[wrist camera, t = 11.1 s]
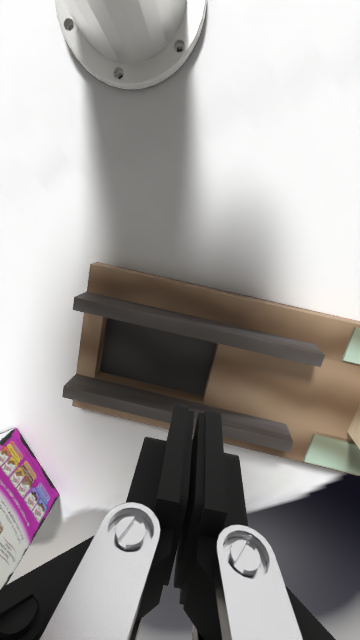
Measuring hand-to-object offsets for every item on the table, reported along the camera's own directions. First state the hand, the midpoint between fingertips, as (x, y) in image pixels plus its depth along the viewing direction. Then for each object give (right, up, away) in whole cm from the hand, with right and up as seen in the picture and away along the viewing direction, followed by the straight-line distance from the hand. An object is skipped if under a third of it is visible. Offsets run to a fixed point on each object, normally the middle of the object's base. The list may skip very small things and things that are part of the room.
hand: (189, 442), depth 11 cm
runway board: (+8, -1, +23) cm, 24 cm away
